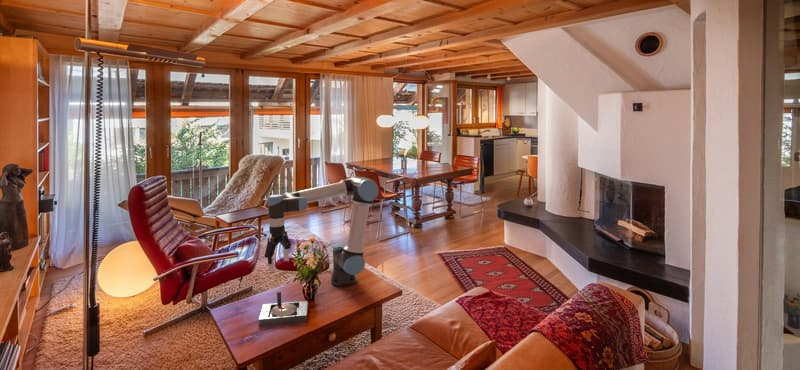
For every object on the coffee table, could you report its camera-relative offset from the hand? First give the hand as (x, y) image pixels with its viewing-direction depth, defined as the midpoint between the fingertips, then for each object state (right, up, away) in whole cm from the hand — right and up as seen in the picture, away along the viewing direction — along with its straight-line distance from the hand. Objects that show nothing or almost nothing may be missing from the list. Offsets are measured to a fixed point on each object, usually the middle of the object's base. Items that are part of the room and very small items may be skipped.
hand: (279, 265), depth 214 cm
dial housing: (+5, -23, -9) cm, 26 cm away
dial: (+5, -22, -9) cm, 24 cm away
